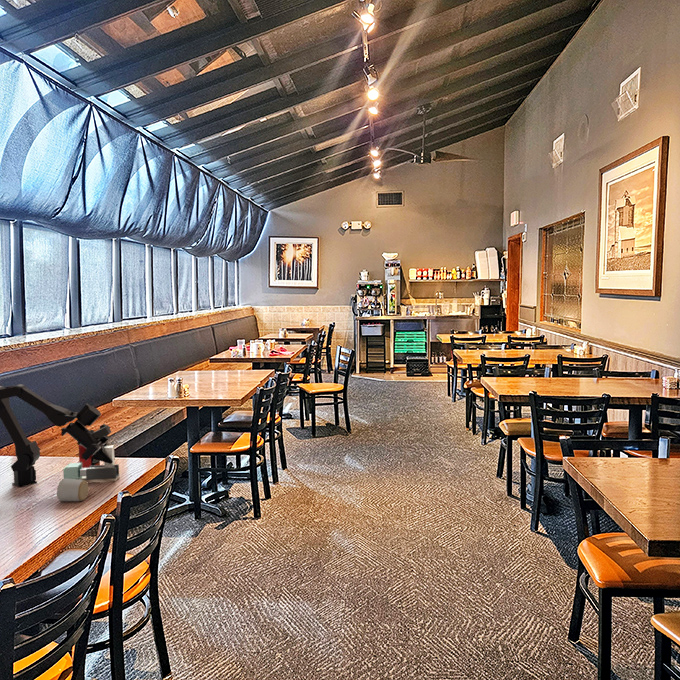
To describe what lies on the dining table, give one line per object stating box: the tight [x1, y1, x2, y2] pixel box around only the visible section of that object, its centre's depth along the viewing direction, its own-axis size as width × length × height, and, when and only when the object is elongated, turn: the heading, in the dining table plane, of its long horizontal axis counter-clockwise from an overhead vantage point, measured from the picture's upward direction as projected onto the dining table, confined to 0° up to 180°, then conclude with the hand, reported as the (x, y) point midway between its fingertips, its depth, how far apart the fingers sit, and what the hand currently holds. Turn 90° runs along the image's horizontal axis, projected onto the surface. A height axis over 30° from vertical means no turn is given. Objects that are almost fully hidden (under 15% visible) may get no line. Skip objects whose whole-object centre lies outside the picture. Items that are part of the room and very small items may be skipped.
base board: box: [79, 474, 120, 483], centre depth 222 cm, size 19×6×1 cm, turn 98°
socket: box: [62, 462, 82, 480], centre depth 221 cm, size 5×6×5 cm
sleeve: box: [86, 463, 120, 480], centre depth 223 cm, size 11×5×4 cm, turn 98°
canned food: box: [78, 444, 101, 468], centre depth 239 cm, size 8×8×11 cm
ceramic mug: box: [56, 477, 90, 502], centre depth 201 cm, size 11×8×8 cm
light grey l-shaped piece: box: [80, 445, 116, 477], centre depth 222 cm, size 12×3×11 cm, turn 98°
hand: (113, 461), depth 223 cm, fingers closed on light grey l-shaped piece, 3 cm apart
